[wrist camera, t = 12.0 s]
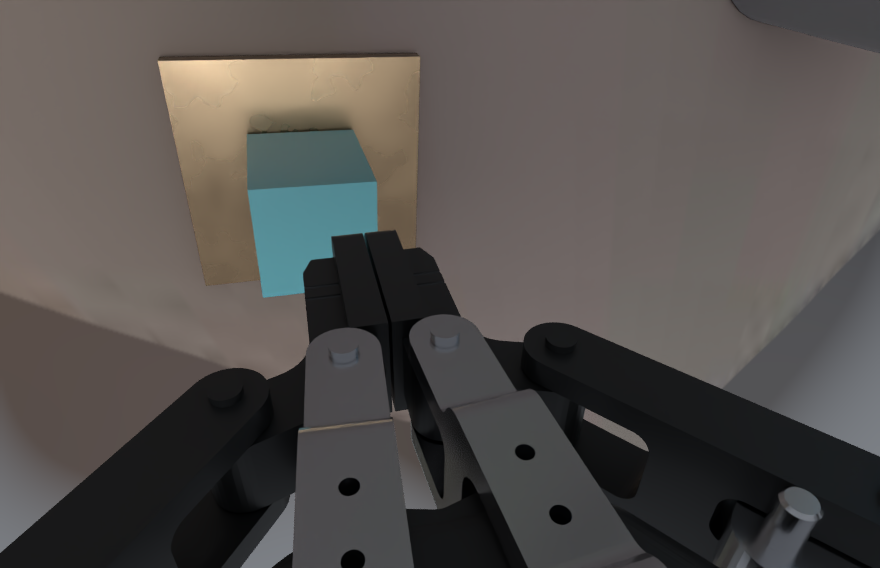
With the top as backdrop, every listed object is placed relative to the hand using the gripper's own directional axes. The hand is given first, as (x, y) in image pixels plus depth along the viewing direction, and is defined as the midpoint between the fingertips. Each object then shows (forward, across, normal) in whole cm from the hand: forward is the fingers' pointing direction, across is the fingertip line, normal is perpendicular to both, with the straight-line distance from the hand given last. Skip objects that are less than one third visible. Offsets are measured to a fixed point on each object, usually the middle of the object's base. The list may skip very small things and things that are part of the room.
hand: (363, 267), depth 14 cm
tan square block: (+18, +1, +5) cm, 19 cm away
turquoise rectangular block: (+17, +1, +5) cm, 18 cm away
